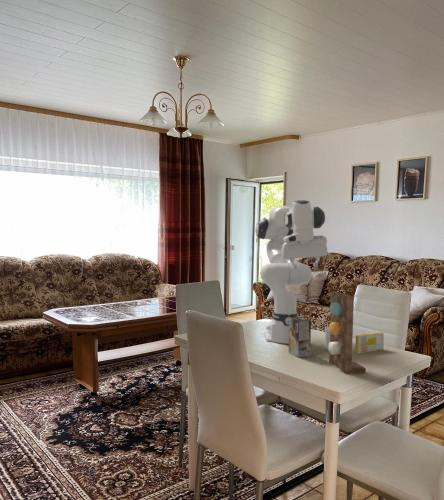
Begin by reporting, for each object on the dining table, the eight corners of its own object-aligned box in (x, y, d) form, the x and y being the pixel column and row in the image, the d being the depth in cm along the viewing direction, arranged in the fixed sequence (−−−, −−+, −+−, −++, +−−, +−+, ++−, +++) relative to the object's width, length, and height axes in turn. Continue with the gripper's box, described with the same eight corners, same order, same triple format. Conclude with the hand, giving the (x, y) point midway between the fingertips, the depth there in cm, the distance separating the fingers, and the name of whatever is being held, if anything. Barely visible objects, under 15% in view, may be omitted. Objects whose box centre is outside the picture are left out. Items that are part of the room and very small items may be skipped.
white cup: (323, 350, 200) (324, 329, 200) (325, 346, 208) (326, 325, 207) (341, 352, 197) (341, 330, 197) (342, 348, 205) (343, 327, 204)
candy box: (380, 348, 205) (381, 331, 205) (383, 350, 203) (384, 332, 203) (354, 352, 198) (355, 334, 198) (358, 353, 196) (358, 335, 196)
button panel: (329, 361, 183) (331, 291, 182) (346, 360, 184) (349, 291, 183) (346, 373, 167) (349, 297, 166) (365, 373, 169) (368, 297, 167)
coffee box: (310, 356, 190) (312, 320, 189) (298, 357, 188) (299, 321, 187) (300, 350, 199) (301, 316, 198) (287, 351, 196) (288, 317, 196)
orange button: (329, 333, 176) (329, 321, 176) (337, 333, 177) (337, 321, 177) (334, 336, 172) (334, 323, 171) (342, 336, 172) (342, 323, 172)
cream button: (328, 352, 177) (328, 340, 177) (336, 352, 177) (336, 340, 177) (333, 356, 172) (334, 343, 172) (341, 355, 173) (342, 343, 172)
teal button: (329, 313, 176) (330, 301, 176) (337, 313, 177) (338, 301, 176) (334, 316, 171) (335, 303, 171) (343, 316, 172) (343, 303, 172)
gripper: (324, 234, 195) (325, 265, 196) (279, 238, 194) (281, 268, 194) (328, 235, 189) (330, 266, 190) (282, 238, 187) (284, 270, 188)
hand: (305, 267), depth 192 cm, fingers open, 8 cm apart
